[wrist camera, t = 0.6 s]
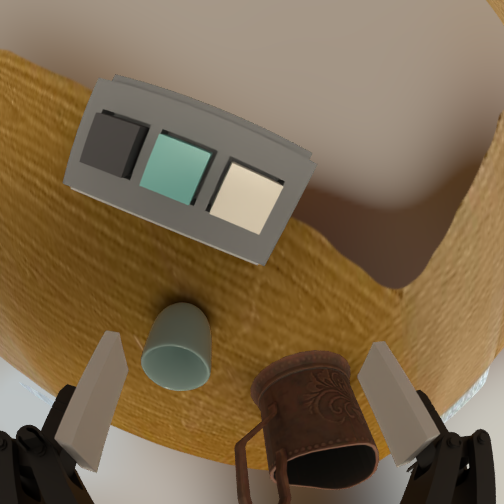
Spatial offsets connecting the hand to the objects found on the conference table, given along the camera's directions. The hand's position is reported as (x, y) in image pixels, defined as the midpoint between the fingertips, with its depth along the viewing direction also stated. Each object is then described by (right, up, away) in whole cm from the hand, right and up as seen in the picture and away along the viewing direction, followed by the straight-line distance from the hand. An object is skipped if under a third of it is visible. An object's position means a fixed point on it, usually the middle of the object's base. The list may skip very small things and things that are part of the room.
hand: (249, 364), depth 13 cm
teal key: (-7, +14, +12) cm, 20 cm away
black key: (-13, +16, +11) cm, 24 cm away
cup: (-9, -3, +23) cm, 25 cm away
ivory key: (-1, +11, +14) cm, 18 cm away
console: (-7, +15, +16) cm, 23 cm away
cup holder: (+7, -17, +31) cm, 36 cm away
